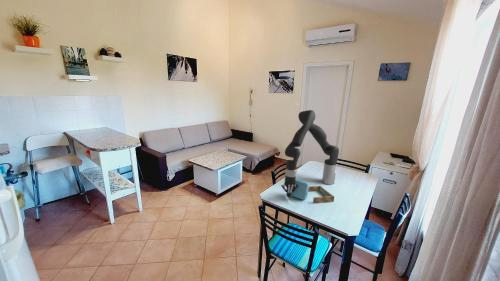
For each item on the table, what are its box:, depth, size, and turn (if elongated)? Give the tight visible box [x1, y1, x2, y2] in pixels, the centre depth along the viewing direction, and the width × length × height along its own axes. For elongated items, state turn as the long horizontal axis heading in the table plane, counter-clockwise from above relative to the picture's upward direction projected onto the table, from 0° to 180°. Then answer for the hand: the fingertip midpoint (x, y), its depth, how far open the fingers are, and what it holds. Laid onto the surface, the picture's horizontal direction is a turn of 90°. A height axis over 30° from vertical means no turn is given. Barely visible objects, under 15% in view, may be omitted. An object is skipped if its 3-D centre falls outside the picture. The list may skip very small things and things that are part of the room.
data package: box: [291, 179, 310, 201], centre depth 148 cm, size 12×4×12 cm, turn 54°
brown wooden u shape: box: [308, 185, 335, 204], centre depth 152 cm, size 16×18×4 cm
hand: (288, 196), depth 147 cm, fingers closed
